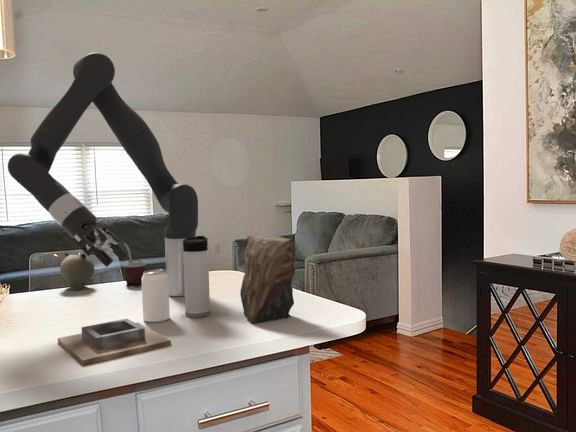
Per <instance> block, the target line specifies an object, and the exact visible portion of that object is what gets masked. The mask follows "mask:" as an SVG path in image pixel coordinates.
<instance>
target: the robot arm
mask: <svg viewBox="0 0 576 432" xmlns="http://www.w3.org/2000/svg"><path fill="white" fill-rule="evenodd" d="M72 69H73V70H72V74H73V82H72V83H71V85H70V87H69V88H68V90H67V91H66V92H65V94H63V96H62V97H61V99H60V100H59V101H58V102H57V104H55V106H54V107H52V109H51V110H50V111H49V112H48V114H46V115H45V117H44V119H43V120H42V121H41V123H40V124H39V126H38V127H37V129H36V130H35V131H34V133H33V134H32V136H31V138H30V148H29V151H28V153H26V152H20V153H15V154H14V155H12V156H11V157H10V158H9V160H8V162H7V171H8V174H9V175H10V176H11V178H12V179H14V180H15V181H16V182H17V183H18V184H19V185H20V186H22V187H23V188H24V189H25V190H26V191H27V192H28V193H29V194H31V195H32V196H33V198H34V199H36V201H37V202H38V204H39V205H41V206H42V207H43V208H44V209H45V210H46V211H47V213H49V215H50V216H51V217H52V219H53V220H54V221H55V222H56V223H57V224H58V225H59V226H60V227H61V228H62V229H63V230H64V231H65V232H66V233H67V234H68V235H69V236H70V237H71V238H72V239H71V240H72V241H73V242H74V243H75V244H76V245H77V246H78V247H79V248H80V250H81V251H83V253H84V254H85V255H86V256H88V257H89V256H93V257H96V258H97V259H98V261H99V262H101V263H102V265H104V266H105V267H109V266H110V265H111V264H112V263H113V262H114V259H113V258H112V257H111V256H110V255H109V254H108V253H107V252H106V251H105V250H104V249H108V250H110V251H112V253H113V255H115V256H116V257H117V258H118V259H119V260H120V261H122V262H124V261H125V260H127V258H128V257H129V254H128V253H127V251H125V250H124V248H123V247H121V245H120V243H121V240H120V239H119V238H118V237H117V236H116V235H115V234H114V233H113V232H112V231H111V230H110V229H109V228H108V227H107V226H105V225H104V226H103V227H101V228H100V227H98V226H97V224H96V223H97V221H98V218H97V216H96V215H94V213H93V212H92V211H90V209H88V207H87V206H86V205H84V204H83V203H82V201H80V200H79V198H77V197H76V196H74V195H73V194H72V193H71V192H70V191H69V190H68V189H67V188H66V187H65V186H64V185H63V184H62V183H60V182H59V181H58V180H57V179H55V177H53V176H52V175H51V174H50V171H51V169H52V166H53V163H54V161H55V157H56V155H57V154H58V153H59V151H60V150H61V148H62V147H63V145H64V144H65V142H66V140H67V139H68V138H69V136H70V134H71V133H72V131H73V130H74V128H75V127H76V126H77V124H78V122H79V121H80V119H81V118H82V116H83V115H84V113H85V112H86V110H87V109H88V108H89V106H90V105H91V104H92V103H93V105H94V106H95V107H96V108H97V110H98V111H99V113H101V115H102V117H103V119H104V120H105V122H106V124H107V125H108V127H109V128H110V130H111V131H112V133H113V134H114V136H115V137H116V139H117V140H118V142H119V144H120V145H121V147H122V148H123V150H124V151H125V153H126V154H127V155H128V156H129V158H130V159H131V161H132V162H133V163H134V165H135V167H136V168H137V169H138V170H139V172H140V173H141V174H142V176H143V177H144V179H145V180H146V182H147V184H148V185H149V187H150V189H151V190H152V193H154V196H155V198H156V200H157V202H158V203H159V205H160V207H161V208H162V209H163V211H165V212H167V214H169V215H168V216H169V217H168V219H169V221H168V225H167V226H166V227H165V228H164V248H165V249H164V251H165V255H164V256H165V271H166V274H167V276H168V283H169V297H171V296H172V297H185V289H184V262H183V248H184V247H183V240H184V239H187V238H192V237H197V234H196V232H197V229H198V226H199V200H198V198H199V197H198V195H197V192H196V190H195V188H193V186H191V185H189V184H187V183H186V184H185V183H179V182H177V180H175V178H174V176H173V175H172V174H171V172H170V171H169V169H168V168H167V166H166V163H165V160H164V158H163V154H162V150H161V146H160V143H159V141H158V139H157V138H156V136H155V134H154V133H153V132H152V130H151V128H150V127H149V126H148V123H146V121H145V120H144V119H143V118H142V116H140V115H139V114H138V113H137V112H136V111H135V110H134V109H133V108H132V107H130V106H129V104H128V103H126V101H124V100H123V98H122V97H121V95H120V94H119V92H118V91H117V88H116V87H115V86H114V84H113V81H114V78H115V74H116V68H115V65H114V63H113V61H112V59H111V58H109V56H107V55H106V54H104V53H101V52H91V53H88V54H85V55H83V56H82V57H80V58H79V59H78V60H76V62H75V63H74V64H73V68H72ZM102 248H103V249H102Z"/></svg>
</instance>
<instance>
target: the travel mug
mask: <svg viewBox="0 0 576 432" xmlns="http://www.w3.org/2000/svg"><path fill="white" fill-rule="evenodd" d="M208 243H209V241H208V238H207V237H205V235H196V237H192V238H187V239H184V240H183V247H184V248H183V262H184V289H185V296H184V311H185V312H184V313H185V316H186V317H187V318H194V319H195V318H196V319H197V318H199V319H200V318H204V317H207V316H209V315H210V314H211V303H210V301H211V300H210V299H211V298H210V272H209V270H210V269H209V267H210V266H209V265H210V263H209V248H208Z"/></svg>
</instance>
